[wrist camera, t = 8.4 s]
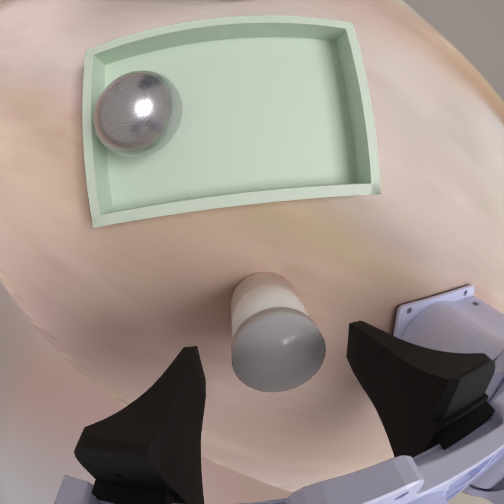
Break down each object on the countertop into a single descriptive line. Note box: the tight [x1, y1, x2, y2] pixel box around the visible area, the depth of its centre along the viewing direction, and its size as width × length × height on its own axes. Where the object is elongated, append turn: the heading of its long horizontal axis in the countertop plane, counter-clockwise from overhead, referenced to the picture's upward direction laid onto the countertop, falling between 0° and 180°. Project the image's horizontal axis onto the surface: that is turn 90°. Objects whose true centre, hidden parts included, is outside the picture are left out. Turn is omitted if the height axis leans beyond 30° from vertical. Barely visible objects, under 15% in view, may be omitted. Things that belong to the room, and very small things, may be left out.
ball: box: [94, 70, 183, 157], centre depth 11 cm, size 5×5×5 cm
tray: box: [82, 15, 381, 228], centre depth 13 cm, size 16×11×2 cm
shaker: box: [231, 272, 326, 392], centre depth 15 cm, size 4×4×6 cm
